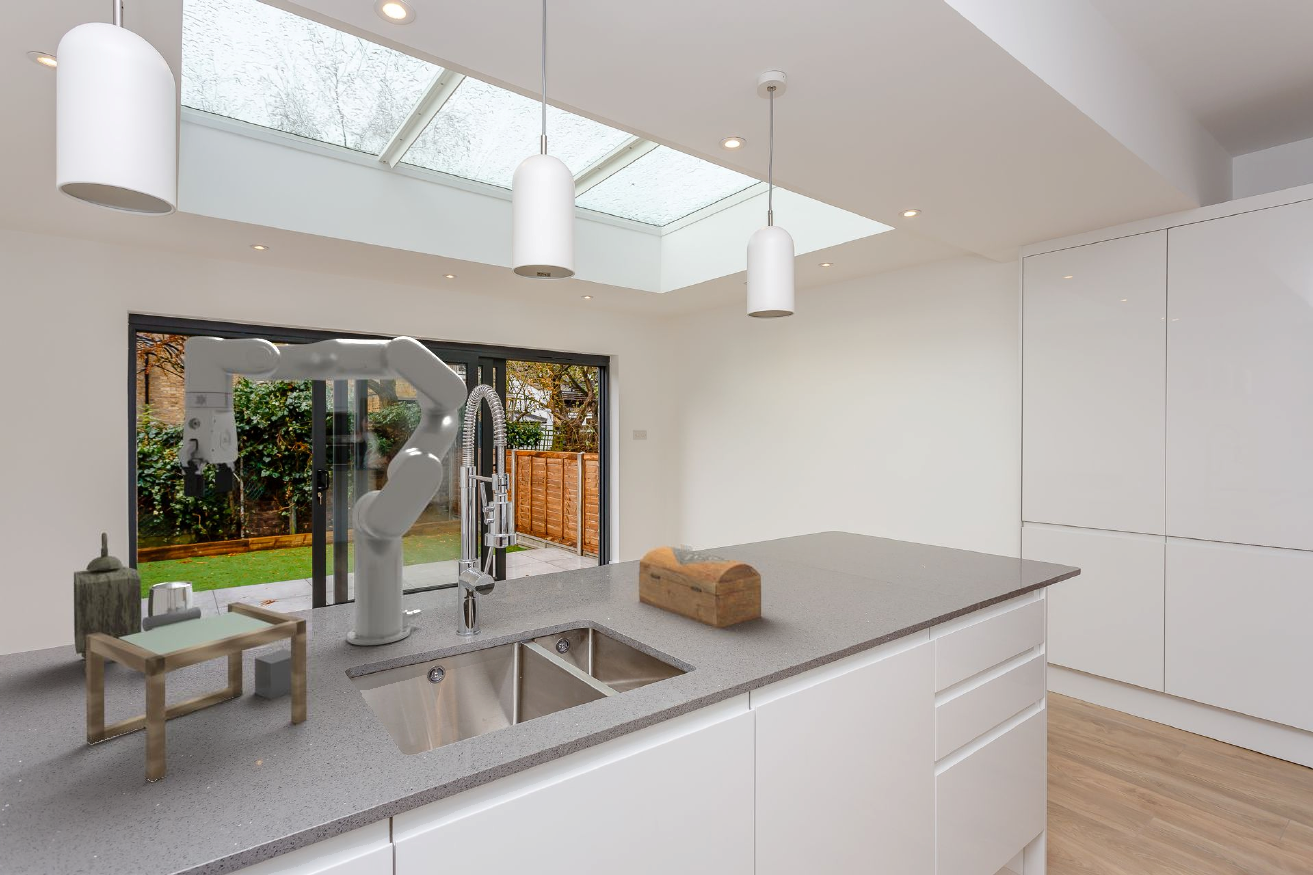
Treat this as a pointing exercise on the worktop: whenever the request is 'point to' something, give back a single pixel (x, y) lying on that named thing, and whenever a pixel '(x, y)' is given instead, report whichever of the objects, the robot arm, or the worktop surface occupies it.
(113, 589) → the tabletop clock
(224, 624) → the trapdoor
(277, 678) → the stone
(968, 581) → the worktop surface
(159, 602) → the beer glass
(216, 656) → the frame
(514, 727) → the worktop surface
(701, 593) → the wooden box
